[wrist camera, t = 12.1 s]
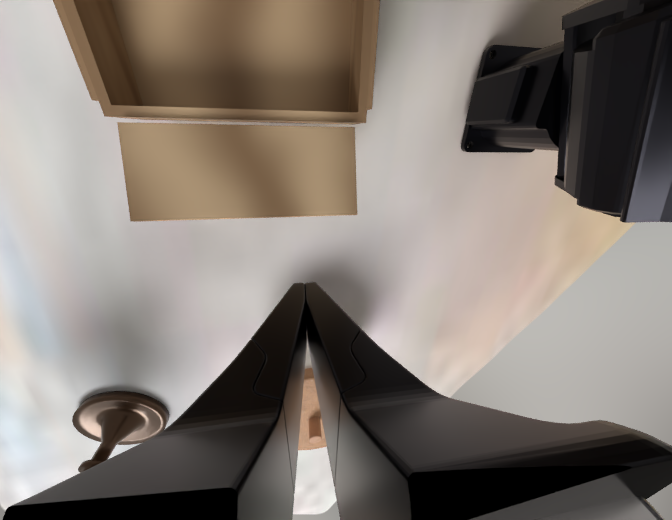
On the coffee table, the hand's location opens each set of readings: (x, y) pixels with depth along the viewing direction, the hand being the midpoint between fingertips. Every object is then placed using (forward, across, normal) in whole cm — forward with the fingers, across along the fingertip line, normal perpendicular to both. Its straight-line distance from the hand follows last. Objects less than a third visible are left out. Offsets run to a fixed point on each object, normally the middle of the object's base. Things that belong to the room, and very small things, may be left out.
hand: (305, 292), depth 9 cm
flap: (+7, +3, -3) cm, 8 cm away
